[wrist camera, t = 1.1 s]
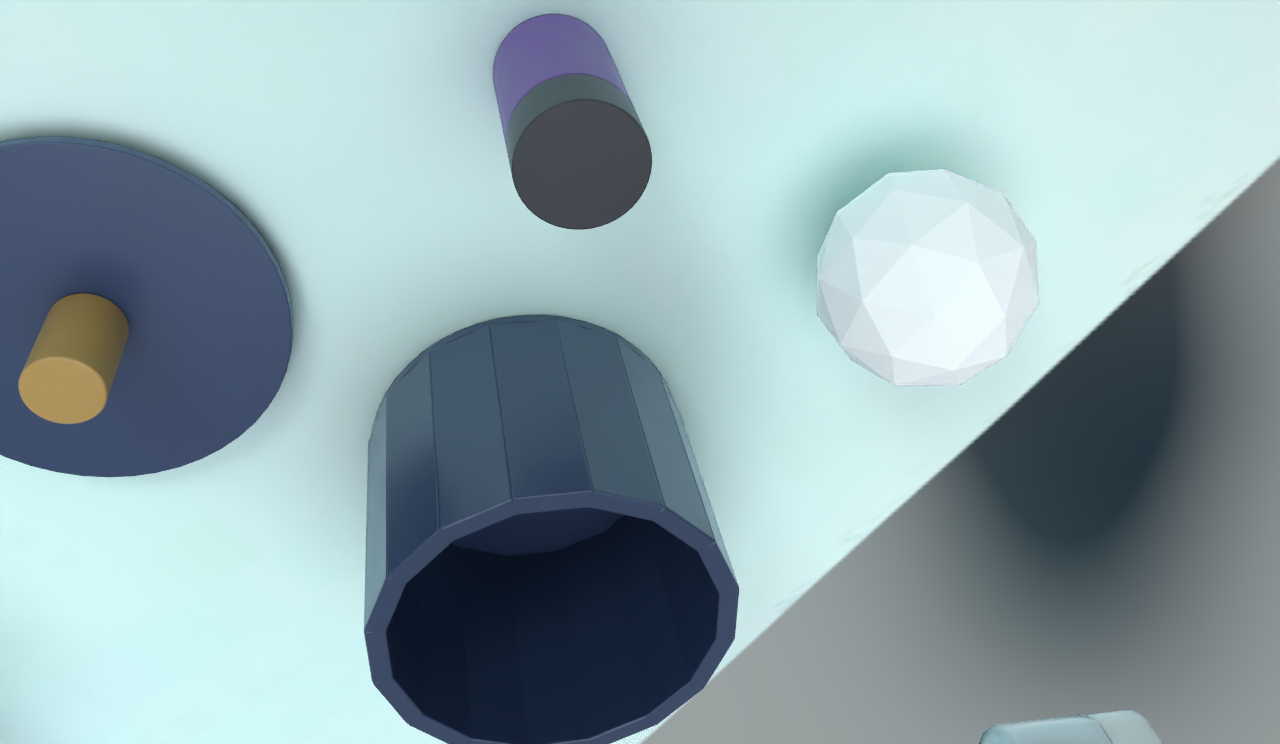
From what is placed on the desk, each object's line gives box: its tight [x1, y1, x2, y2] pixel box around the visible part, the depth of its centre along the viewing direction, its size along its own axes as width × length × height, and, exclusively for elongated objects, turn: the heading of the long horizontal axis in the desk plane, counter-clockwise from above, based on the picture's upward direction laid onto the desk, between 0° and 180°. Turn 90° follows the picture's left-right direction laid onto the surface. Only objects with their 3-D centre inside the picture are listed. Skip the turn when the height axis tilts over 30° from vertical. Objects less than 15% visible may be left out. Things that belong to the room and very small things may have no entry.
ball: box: [817, 169, 1039, 386], centre depth 42 cm, size 8×8×8 cm
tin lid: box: [0, 137, 293, 477], centre depth 39 cm, size 13×13×5 cm
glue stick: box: [493, 14, 652, 229], centre depth 36 cm, size 4×4×8 cm
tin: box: [364, 315, 739, 744], centre depth 44 cm, size 12×12×10 cm
